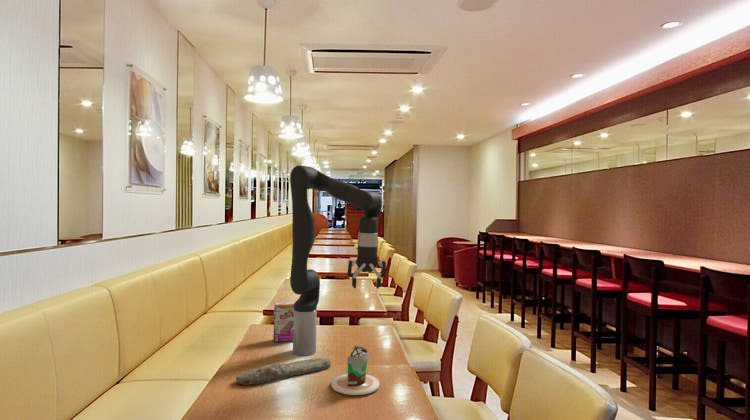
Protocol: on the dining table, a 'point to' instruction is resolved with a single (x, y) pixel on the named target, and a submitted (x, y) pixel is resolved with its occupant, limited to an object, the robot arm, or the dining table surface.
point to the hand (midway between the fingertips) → (366, 288)
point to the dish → (342, 386)
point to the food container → (357, 366)
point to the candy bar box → (283, 322)
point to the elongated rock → (281, 371)
